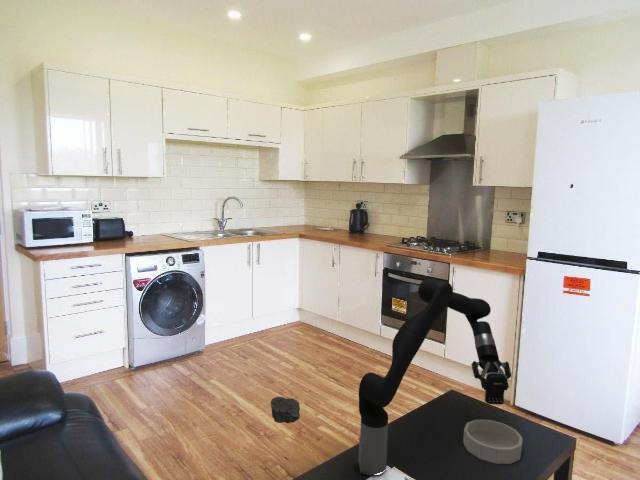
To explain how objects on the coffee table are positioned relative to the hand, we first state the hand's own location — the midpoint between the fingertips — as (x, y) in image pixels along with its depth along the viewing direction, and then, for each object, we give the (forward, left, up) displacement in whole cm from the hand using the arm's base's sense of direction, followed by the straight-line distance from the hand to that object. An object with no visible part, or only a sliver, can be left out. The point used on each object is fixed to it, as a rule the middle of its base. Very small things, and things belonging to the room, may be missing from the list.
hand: (496, 389), depth 164 cm
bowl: (0, 0, -23) cm, 23 cm away
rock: (-79, +21, -23) cm, 85 cm away
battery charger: (0, 0, -6) cm, 6 cm away
